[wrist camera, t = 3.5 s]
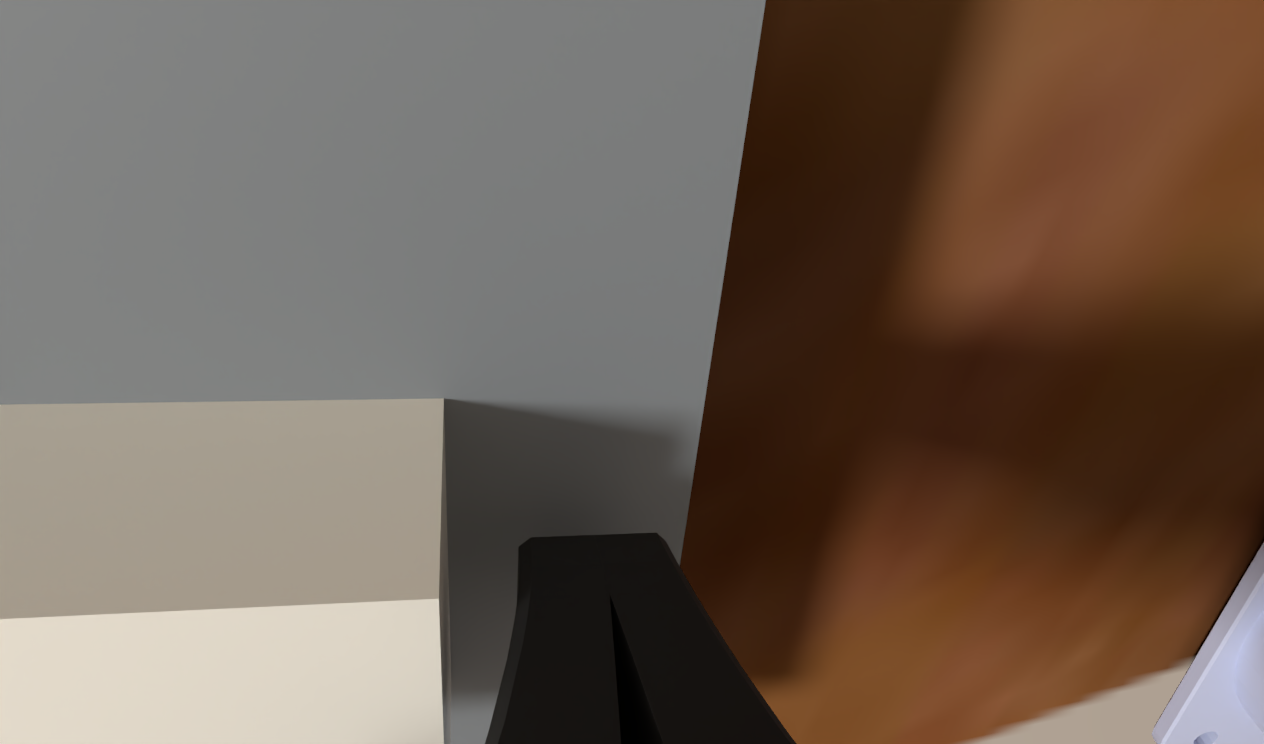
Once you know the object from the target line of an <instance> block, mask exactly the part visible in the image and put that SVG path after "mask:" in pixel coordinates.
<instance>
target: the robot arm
mask: <svg viewBox="0 0 1264 744" xmlns="http://www.w3.org/2000/svg"><path fill="white" fill-rule="evenodd" d="M1152 736H1153V738H1154V740H1155V741H1156V743H1157V744H1264V542H1263V544H1262V545H1261V547H1260V549H1259V550H1258V552H1257V554H1256V555H1255V557H1254V559H1253V561H1252V562H1251V564H1250V566H1249V567H1248V569H1247V571H1246V572H1245V574H1244V576H1243V577H1242V579H1241V581H1240V582H1239V584H1238V586H1237V588H1236V589H1235V591H1234V593H1233V594H1232V596H1231V598H1230V599H1229V601H1228V603H1227V604H1226V606H1225V608H1224V610H1223V611H1222V613H1221V615H1220V616H1219V618H1218V620H1217V621H1216V623H1215V625H1214V626H1213V628H1212V630H1211V632H1210V633H1209V635H1208V637H1207V638H1206V640H1205V642H1204V643H1203V645H1202V647H1201V648H1200V650H1199V652H1198V654H1197V655H1196V657H1195V659H1194V660H1193V662H1192V664H1191V665H1190V667H1189V669H1188V670H1187V672H1186V674H1185V676H1184V677H1183V679H1182V681H1181V682H1180V684H1179V686H1178V687H1177V689H1176V691H1175V692H1174V694H1173V696H1172V698H1171V699H1170V701H1169V703H1168V704H1167V706H1166V708H1165V709H1164V711H1163V713H1162V714H1161V716H1160V718H1159V720H1158V721H1157V723H1156V725H1155V727H1154V729H1153V732H1152ZM485 744H796V743H795V742H794V740H793V739H792V737H791V736H790V735H789V733H788V732H787V731H786V729H785V728H784V727H783V725H782V724H781V722H780V721H779V720H778V718H777V717H776V715H775V714H774V712H773V711H772V710H771V708H770V707H769V705H768V704H767V702H766V701H765V700H764V698H763V697H762V695H761V694H760V693H759V691H758V690H757V688H756V687H755V685H754V684H753V683H752V681H751V680H750V678H749V677H748V675H747V674H746V673H745V671H744V670H743V668H742V667H741V665H740V664H739V662H738V661H737V659H736V658H735V656H734V655H733V653H732V652H731V650H730V649H729V647H728V645H727V644H726V642H725V641H724V639H723V638H722V636H721V634H720V633H719V631H718V630H717V628H716V627H715V625H714V623H713V622H712V620H711V619H710V617H709V615H708V614H707V612H706V611H705V609H704V607H703V606H702V604H701V602H700V601H699V599H698V597H697V596H696V594H695V592H694V591H693V589H692V587H691V586H690V584H689V582H688V580H687V579H686V577H685V575H684V573H683V572H682V570H681V568H680V566H679V564H678V563H677V561H676V559H675V557H674V555H673V553H672V552H671V550H670V548H669V546H668V544H667V542H666V541H665V540H664V539H663V538H662V537H661V536H660V535H659V534H658V533H631V534H605V535H578V536H552V537H531V538H529V539H528V540H527V541H525V542H524V543H523V544H521V545H520V546H519V547H518V579H517V606H516V613H515V620H514V625H513V630H512V636H511V641H510V646H509V651H508V657H507V661H506V665H505V669H504V673H503V677H502V681H501V685H500V689H499V693H498V696H497V700H496V704H495V708H494V712H493V716H492V720H491V724H490V728H489V731H488V735H487V738H486V742H485Z"/></svg>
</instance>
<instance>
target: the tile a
mask: <svg viewBox="0 0 1264 744" xmlns="http://www.w3.org/2000/svg"><path fill="white" fill-rule="evenodd" d="M0 744H451V654H450V616H449V578H448V540H447V502H446V464H445V427H444V398H440V399H368V400H296V401H225V402H153V403H82V404H10V405H0Z"/></svg>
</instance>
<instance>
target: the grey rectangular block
mask: <svg viewBox="0 0 1264 744" xmlns="http://www.w3.org/2000/svg"><path fill="white" fill-rule="evenodd" d="M765 2H766V0H0V405H10V404H82V403H153V402H225V401H296V400H368V399H440V398H444V427H445V464H446V502H447V540H448V578H449V616H450V654H451V744H485V742H486V738H487V735H488V731H489V728H490V724H491V720H492V716H493V712H494V708H495V704H496V700H497V696H498V693H499V689H500V685H501V681H502V677H503V673H504V669H505V665H506V661H507V657H508V651H509V646H510V641H511V636H512V630H513V625H514V620H515V613H516V606H517V579H518V547H519V546H520V545H521V544H523V543H524V542H525V541H527V540H528V539H529V538H531V537H552V536H578V535H605V534H631V533H658V534H659V535H660V536H661V537H662V538H663V539H664V540H665V541H666V542H667V544H668V546H669V548H670V550H671V552H672V553H673V555H674V557H675V559H676V561H677V563H678V564H679V566H680V561H681V555H682V548H683V541H684V535H685V528H686V522H687V515H688V509H689V502H690V495H691V489H692V482H693V476H694V469H695V463H696V456H697V449H698V443H699V436H700V430H701V423H702V417H703V410H704V403H705V397H706V390H707V384H708V377H709V371H710V364H711V357H712V351H713V344H714V338H715V331H716V325H717V318H718V311H719V305H720V298H721V292H722V285H723V279H724V272H725V265H726V259H727V252H728V246H729V239H730V233H731V226H732V219H733V213H734V206H735V200H736V193H737V186H738V180H739V173H740V167H741V160H742V154H743V147H744V140H745V134H746V127H747V121H748V114H749V108H750V101H751V94H752V88H753V81H754V75H755V68H756V62H757V55H758V48H759V42H760V35H761V29H762V22H763V16H764V9H765Z"/></svg>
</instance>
